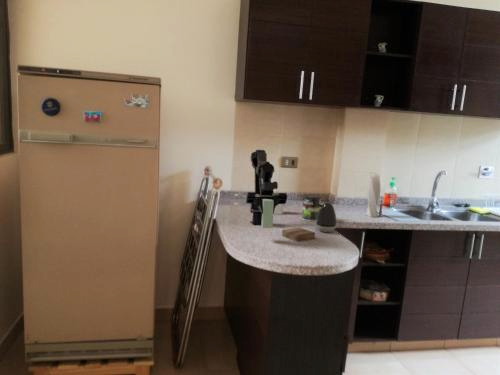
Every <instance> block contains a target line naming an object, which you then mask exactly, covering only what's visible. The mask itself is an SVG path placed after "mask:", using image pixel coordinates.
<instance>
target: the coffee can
mask: <svg viewBox="0 0 500 375" xmlns="http://www.w3.org/2000/svg"><path fill="white" fill-rule="evenodd" d="M302 196H303V199H302V201H303V202H302V212H301V213H302V215H301V220H303V221H305V222H316V221H317V216H318V213H319V210H320V208H321V207H320V206H318V205H317V204H321V201H322V200H321V198H322V196H321V195H317V194H303V195H302Z"/></svg>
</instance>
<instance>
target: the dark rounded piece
mask: <svg viewBox="0 0 500 375" xmlns="http://www.w3.org/2000/svg"><path fill="white" fill-rule="evenodd" d="M317 205H318V206H320V210H319V213H318V216H317V221H315V224H316V226H317V229H318V230H319V231H320V232H322V233H332V232H333V231H335V229H336V227H337V214H336V211H335V207H334V206H333V204H332V203H331V202H327V201H326V202H324V203H323V204H321V203H320V204H317Z"/></svg>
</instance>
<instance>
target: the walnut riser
mask: <svg viewBox="0 0 500 375" xmlns="http://www.w3.org/2000/svg"><path fill="white" fill-rule="evenodd" d="M281 231H282V232H281V237H284V238H286V239H289V240H292V241H295V242H303V241H304V242H305V241H309V240H311V241H312V240H315V239H316V232H314V231H311V230H310V229H304V228H302V227H293V228H287V229H285V228H284V229H282V230H281Z"/></svg>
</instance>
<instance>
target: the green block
mask: <svg viewBox="0 0 500 375" xmlns="http://www.w3.org/2000/svg"><path fill="white" fill-rule="evenodd" d="M262 206H263V214H262V222H261V224H260V227H262V229H273V227H274V226H273V225H274V224H273V222H274V214H273V207H274V201H273V200H272V199H262Z"/></svg>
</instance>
